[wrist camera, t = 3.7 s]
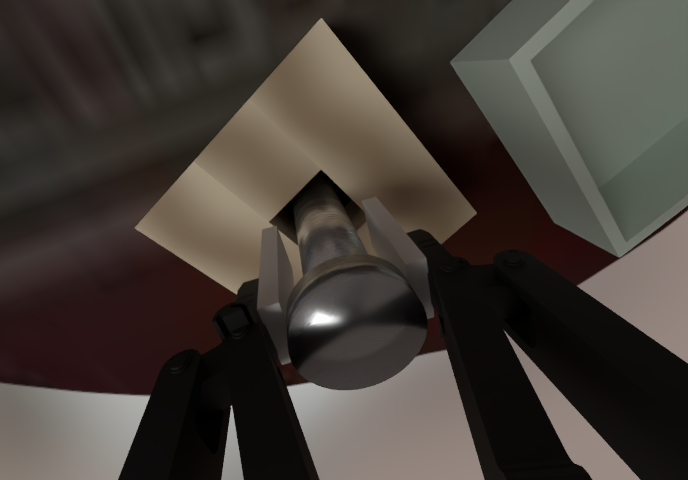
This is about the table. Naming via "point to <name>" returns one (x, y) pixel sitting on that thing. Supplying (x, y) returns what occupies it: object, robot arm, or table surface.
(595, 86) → the parts bin
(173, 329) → the table surface
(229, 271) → the hitch block
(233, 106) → the table surface
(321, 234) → the steel pin
